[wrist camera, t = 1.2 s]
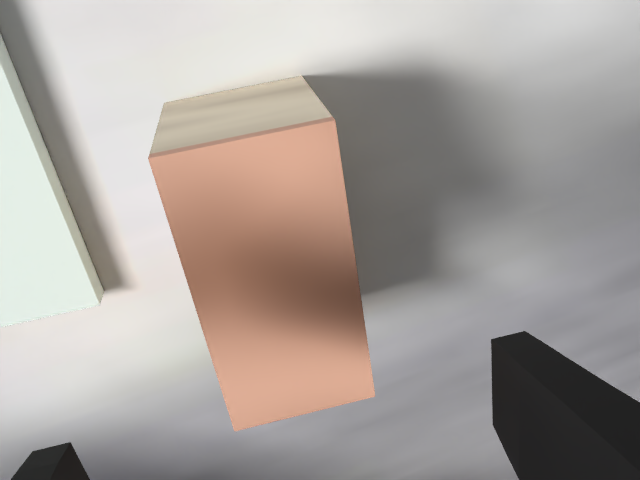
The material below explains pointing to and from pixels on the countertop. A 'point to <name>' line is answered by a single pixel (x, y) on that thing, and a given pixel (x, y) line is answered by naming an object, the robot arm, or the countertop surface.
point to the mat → (35, 220)
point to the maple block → (266, 247)
